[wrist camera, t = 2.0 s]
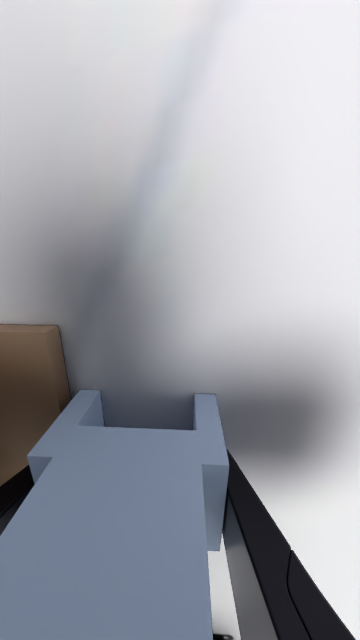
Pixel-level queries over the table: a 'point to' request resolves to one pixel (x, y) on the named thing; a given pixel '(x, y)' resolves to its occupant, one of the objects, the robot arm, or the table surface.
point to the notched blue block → (116, 530)
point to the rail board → (28, 391)
